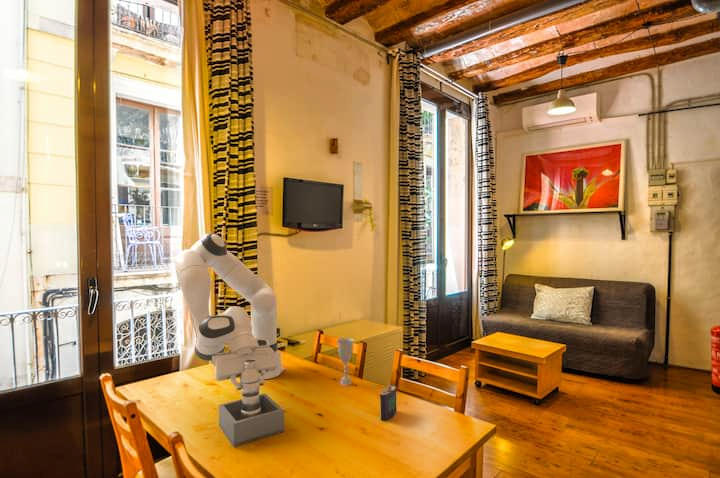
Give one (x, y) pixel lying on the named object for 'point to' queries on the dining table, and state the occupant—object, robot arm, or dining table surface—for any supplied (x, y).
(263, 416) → the bin
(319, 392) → the dining table surface
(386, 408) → the hip flask
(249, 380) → the plastic bottle
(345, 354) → the chalice
